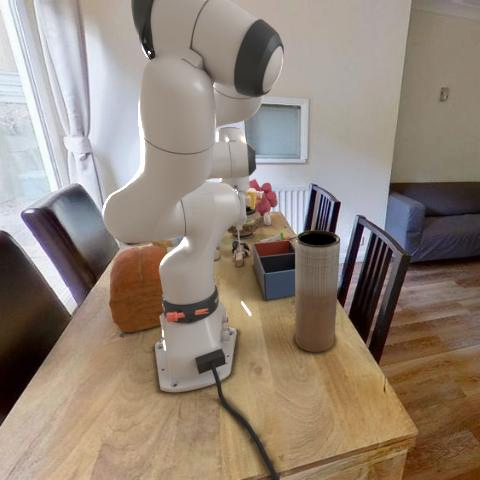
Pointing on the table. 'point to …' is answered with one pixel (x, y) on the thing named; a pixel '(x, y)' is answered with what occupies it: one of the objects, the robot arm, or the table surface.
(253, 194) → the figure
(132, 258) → the bread
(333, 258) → the planter
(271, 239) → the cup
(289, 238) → the scissors
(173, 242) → the figurine
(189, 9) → the robot arm
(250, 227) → the ceramic bowl
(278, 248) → the sorting bins
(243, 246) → the toy figure
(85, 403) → the table surface
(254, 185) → the toy
